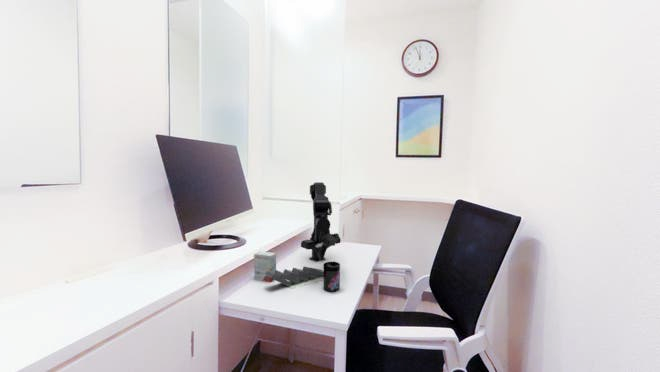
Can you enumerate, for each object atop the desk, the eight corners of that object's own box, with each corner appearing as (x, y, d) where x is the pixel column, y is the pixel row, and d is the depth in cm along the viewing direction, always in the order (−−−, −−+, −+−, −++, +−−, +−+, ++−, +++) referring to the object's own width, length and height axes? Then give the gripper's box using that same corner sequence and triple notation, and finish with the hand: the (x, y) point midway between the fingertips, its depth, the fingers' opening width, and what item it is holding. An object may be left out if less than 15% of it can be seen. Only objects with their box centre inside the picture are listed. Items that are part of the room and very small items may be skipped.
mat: (280, 281, 123) (280, 281, 123) (325, 269, 138) (325, 269, 138) (291, 289, 116) (291, 288, 116) (336, 275, 131) (337, 274, 131)
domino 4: (309, 275, 130) (291, 271, 124) (310, 272, 130) (293, 267, 124) (315, 279, 126) (297, 274, 120) (316, 275, 126) (299, 270, 120)
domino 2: (292, 280, 124) (274, 273, 118) (293, 276, 124) (275, 269, 119) (298, 284, 120) (279, 277, 114) (300, 280, 121) (281, 273, 115)
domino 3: (301, 277, 127) (283, 272, 121) (302, 274, 127) (284, 269, 121) (307, 281, 123) (289, 276, 117) (308, 277, 123) (290, 272, 117)
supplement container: (324, 293, 112) (324, 267, 111) (322, 286, 119) (322, 261, 118) (341, 292, 113) (341, 266, 112) (338, 285, 120) (338, 261, 119)
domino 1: (283, 282, 121) (265, 274, 116) (285, 279, 122) (267, 270, 116) (289, 286, 117) (271, 278, 112) (291, 282, 118) (273, 274, 112)
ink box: (276, 278, 126) (276, 252, 125) (271, 283, 122) (271, 256, 121) (260, 276, 129) (259, 250, 128) (253, 280, 125) (253, 253, 124)
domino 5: (319, 272, 133) (302, 269, 127) (320, 269, 133) (303, 266, 127) (325, 276, 129) (308, 273, 123) (326, 272, 129) (309, 269, 123)
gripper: (315, 232, 117) (314, 270, 118) (348, 227, 129) (348, 260, 130) (300, 228, 126) (300, 262, 127) (333, 223, 137) (332, 254, 138)
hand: (321, 260), depth 130 cm, fingers closed
